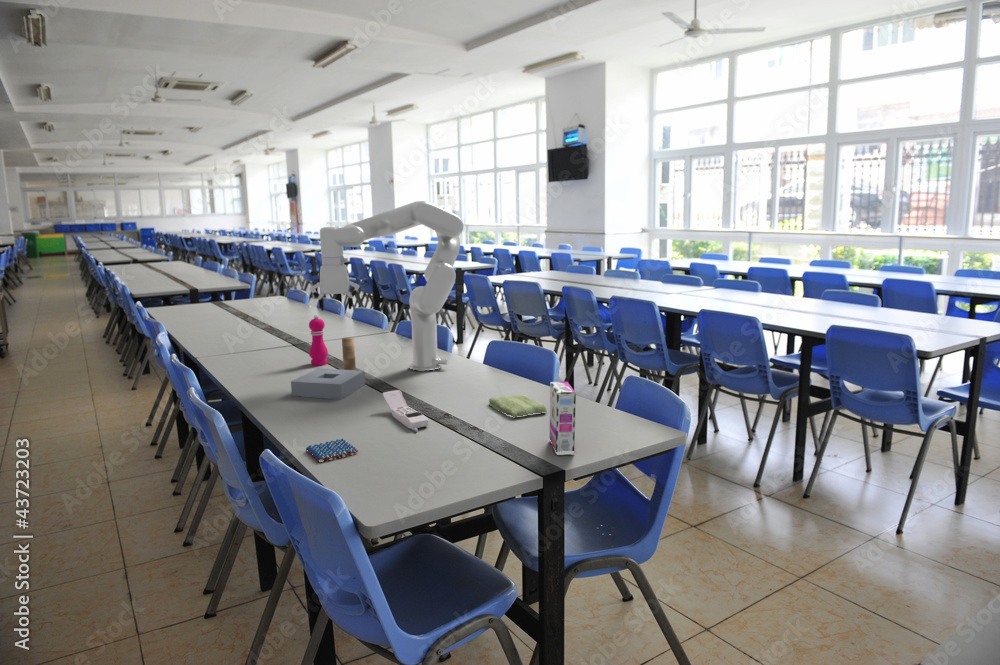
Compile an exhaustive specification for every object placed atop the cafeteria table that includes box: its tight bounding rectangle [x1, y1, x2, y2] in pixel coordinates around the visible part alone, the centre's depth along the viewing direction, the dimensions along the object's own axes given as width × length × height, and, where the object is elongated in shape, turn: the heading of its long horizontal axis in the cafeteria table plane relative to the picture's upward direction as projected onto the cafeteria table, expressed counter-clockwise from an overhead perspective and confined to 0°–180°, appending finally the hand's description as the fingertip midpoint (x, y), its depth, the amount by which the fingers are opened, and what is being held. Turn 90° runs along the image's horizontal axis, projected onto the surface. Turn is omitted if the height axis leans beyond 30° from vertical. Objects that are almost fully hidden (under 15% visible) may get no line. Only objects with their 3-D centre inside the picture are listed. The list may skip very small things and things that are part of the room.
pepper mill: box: [308, 314, 329, 367], centre depth 260 cm, size 7×7×20 cm
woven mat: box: [305, 438, 359, 462], centre depth 168 cm, size 10×11×2 cm
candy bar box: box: [549, 381, 577, 452], centre depth 168 cm, size 11×5×16 cm, turn 5°
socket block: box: [290, 368, 366, 400], centre depth 224 cm, size 18×18×5 cm
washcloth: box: [488, 394, 547, 417], centre depth 202 cm, size 13×18×3 cm
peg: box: [341, 336, 357, 370], centre depth 243 cm, size 4×4×14 cm
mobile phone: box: [382, 389, 429, 433], centre depth 193 cm, size 6×6×25 cm
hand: (336, 309), depth 237 cm, fingers open, 9 cm apart
